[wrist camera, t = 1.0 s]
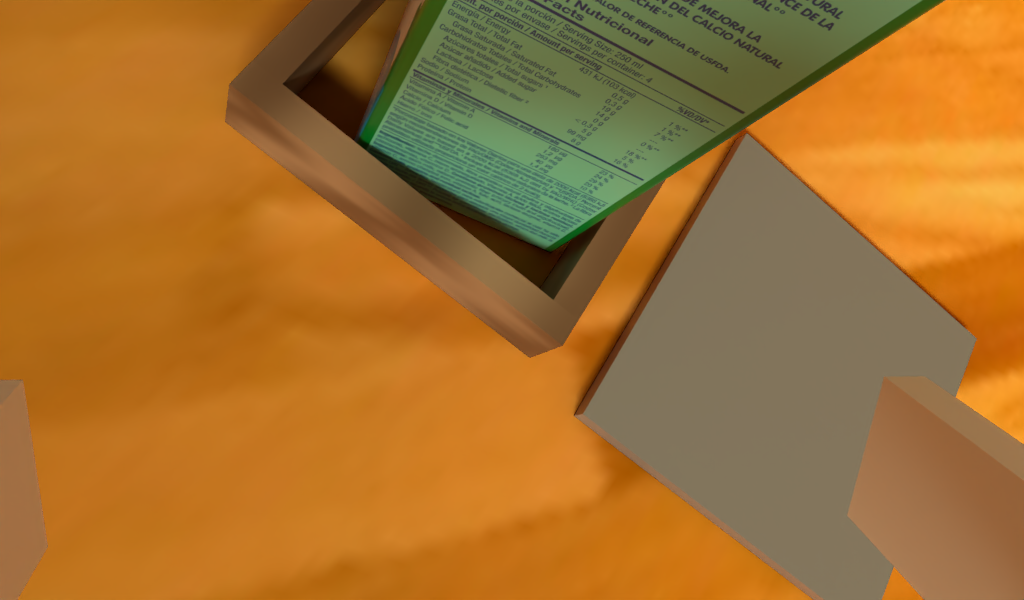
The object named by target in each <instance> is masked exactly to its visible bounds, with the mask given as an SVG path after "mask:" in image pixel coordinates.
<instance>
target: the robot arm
mask: <svg viewBox="0 0 1024 600" xmlns="http://www.w3.org/2000/svg"><path fill="white" fill-rule="evenodd" d="M847 516H848V517H849V518H850V519H851V520H852V521H853V522H854V524H855V525H856V526H857V527H858V528H859V529H860V530H861V531H862V532H863V533H864V534H865V536H866V537H867V538H868V539H869V540H870V541H871V542H872V543H873V544H874V545H875V546H876V548H877V549H878V550H879V551H880V552H881V553H882V554H883V555H884V556H885V557H886V558H887V560H888V561H889V562H890V563H891V564H892V565H893V566H894V567H895V568H896V569H897V570H898V572H899V573H900V574H901V575H902V576H903V577H904V578H905V579H906V580H907V581H908V582H909V584H910V585H911V586H912V587H913V588H914V589H915V590H916V591H917V592H918V593H919V594H920V596H921V597H922V598H923V599H924V600H1024V444H1022V443H1021V442H1019V441H1018V440H1016V439H1015V438H1014V437H1012V436H1011V435H1009V434H1008V433H1006V432H1005V431H1003V430H1002V429H1000V428H999V427H998V426H996V425H995V424H993V423H992V422H990V421H989V420H987V419H986V418H985V417H983V416H982V415H980V414H979V413H977V412H976V411H974V410H973V409H971V408H970V407H969V406H967V405H966V404H964V403H963V402H961V401H960V400H958V399H957V398H955V397H954V396H953V395H951V394H950V393H948V392H947V391H945V390H944V389H942V388H941V387H940V386H938V385H937V384H935V383H934V382H932V381H931V380H929V379H928V378H926V377H925V376H904V377H884V379H883V383H882V387H881V390H880V394H879V398H878V402H877V405H876V409H875V413H874V417H873V420H872V424H871V428H870V432H869V435H868V439H867V443H866V447H865V451H864V454H863V458H862V462H861V466H860V469H859V473H858V477H857V481H856V484H855V488H854V492H853V496H852V500H851V503H850V507H849V511H848V515H847ZM47 547H48V545H47V538H46V531H45V525H44V518H43V511H42V504H41V498H40V491H39V484H38V478H37V471H36V464H35V458H34V451H33V444H32V438H31V431H30V424H29V418H28V411H27V404H26V398H25V391H24V384H23V380H0V600H17V599H18V597H19V596H20V594H21V592H22V591H23V589H24V587H25V585H26V584H27V582H28V580H29V578H30V577H31V575H32V573H33V572H34V570H35V568H36V566H37V565H38V563H39V561H40V559H41V558H42V556H43V554H44V553H45V551H46V549H47Z"/></svg>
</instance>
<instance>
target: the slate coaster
mask: <svg viewBox="0 0 1024 600" xmlns="http://www.w3.org/2000/svg"><path fill="white" fill-rule="evenodd" d="M976 339H977V338H975V337H974V336H973V335H972V334H971V333H970V332H969V331H968V330H966V329H965V328H964V327H963V326H962V325H961V324H960V323H959V322H958V321H956V320H955V319H954V318H953V317H952V316H951V315H950V314H949V313H947V312H946V311H945V310H944V309H943V308H942V307H941V306H940V305H939V304H937V303H936V302H935V301H934V300H933V299H932V298H931V297H930V296H928V295H927V294H926V293H925V292H924V291H923V290H922V289H921V288H920V287H918V286H917V285H916V284H915V283H914V282H913V281H912V280H911V279H909V278H908V277H907V276H906V275H905V274H904V273H903V272H902V271H901V270H899V269H898V268H897V267H896V266H895V265H894V264H893V263H892V262H890V261H889V260H888V259H887V258H886V257H885V256H884V255H883V254H882V253H880V252H879V251H878V250H877V249H876V248H875V247H874V246H873V245H871V244H870V243H869V242H868V241H867V240H866V239H865V238H864V237H863V236H861V235H860V234H859V233H858V232H857V231H856V230H855V229H854V228H852V227H851V226H850V225H849V224H848V223H847V222H846V221H845V220H844V219H842V218H841V217H840V216H839V215H838V214H837V213H836V212H835V211H833V210H832V209H831V208H830V207H829V206H828V205H827V204H826V203H825V202H823V201H822V200H821V199H820V198H819V197H818V196H817V195H816V194H815V193H813V192H812V191H811V190H810V189H809V188H808V187H807V186H806V185H804V184H803V183H802V182H801V181H800V180H799V179H798V178H797V177H796V176H794V175H793V174H792V173H791V172H790V171H789V170H788V169H787V168H785V167H784V166H783V165H782V164H781V163H780V162H779V161H778V160H777V159H775V158H774V157H773V156H772V155H771V154H770V153H769V152H768V151H766V150H765V149H764V148H763V147H762V146H761V145H760V144H759V143H758V142H756V141H755V140H754V139H753V138H752V137H751V136H750V135H749V134H747V133H746V134H744V135H743V136H741V137H740V138H738V139H736V141H735V142H734V144H733V146H732V147H731V149H730V151H729V153H728V154H727V156H726V158H725V159H724V161H723V163H722V165H721V166H720V168H719V170H718V171H717V173H716V175H715V176H714V178H713V180H712V182H711V183H710V185H709V187H708V188H707V190H706V192H705V193H704V195H703V197H702V199H701V200H700V202H699V204H698V205H697V207H696V209H695V210H694V212H693V214H692V216H691V217H690V219H689V221H688V222H687V224H686V226H685V227H684V229H683V231H682V233H681V234H680V236H679V238H678V239H677V241H676V243H675V245H674V246H673V248H672V250H671V251H670V253H669V255H668V256H667V258H666V260H665V262H664V263H663V265H662V267H661V268H660V270H659V272H658V273H657V275H656V277H655V279H654V280H653V282H652V284H651V285H650V287H649V289H648V290H647V292H646V294H645V296H644V297H643V299H642V301H641V302H640V304H639V306H638V307H637V309H636V311H635V313H634V314H633V316H632V318H631V319H630V321H629V323H628V325H627V326H626V328H625V330H624V331H623V333H622V335H621V336H620V338H619V340H618V342H617V343H616V345H615V347H614V348H613V350H612V352H611V353H610V355H609V357H608V359H607V360H606V362H605V364H604V365H603V367H602V369H601V370H600V372H599V374H598V376H597V377H596V379H595V381H594V382H593V384H592V386H591V387H590V389H589V391H588V393H587V394H586V396H585V398H584V399H583V401H582V403H581V404H580V406H579V408H578V410H577V411H576V413H575V415H574V416H575V417H576V418H578V419H579V420H580V421H582V422H583V423H584V424H585V425H587V426H588V427H589V428H591V429H592V430H593V431H595V432H596V433H597V434H598V435H600V436H601V437H602V438H604V439H605V440H606V441H608V442H609V443H610V444H612V445H613V446H614V447H615V448H617V449H618V450H619V451H621V452H622V453H623V454H625V455H626V456H627V457H628V458H630V459H631V460H632V461H634V462H635V463H636V464H638V465H639V466H640V467H641V468H643V469H644V470H645V471H647V472H648V473H649V474H651V475H652V476H653V477H655V478H656V479H657V480H658V481H660V482H661V483H662V484H664V485H665V486H666V487H668V488H669V489H670V490H671V491H673V492H674V493H675V494H677V495H678V496H679V497H681V498H682V499H683V500H684V501H686V502H687V503H688V504H690V505H691V506H692V507H694V508H695V509H696V510H697V511H699V512H700V513H701V514H703V515H704V516H705V517H707V518H708V519H709V520H711V521H712V522H713V523H714V524H716V525H717V526H718V527H720V528H721V529H722V530H724V531H725V532H726V533H727V534H729V535H730V536H731V537H733V538H734V539H735V540H737V541H738V542H739V543H740V544H742V545H743V546H744V547H746V548H747V549H748V550H750V551H751V552H752V553H753V554H755V555H756V556H757V557H759V558H760V559H761V560H763V561H764V562H765V563H767V564H768V565H769V566H770V567H772V568H773V569H774V570H776V571H777V572H778V573H780V574H781V575H782V576H783V577H785V578H786V579H787V580H789V581H790V582H791V583H793V584H794V585H795V586H796V587H798V588H799V589H800V590H802V591H803V592H804V593H806V594H807V595H808V596H810V597H811V598H812V599H813V600H882V597H883V595H884V592H885V589H886V586H887V584H888V581H889V578H890V575H891V573H892V570H893V567H894V566H893V565H892V564H891V563H890V562H889V561H888V560H887V558H886V557H885V556H884V555H883V554H882V553H881V552H880V551H879V550H878V549H877V548H876V546H875V545H874V544H873V543H872V542H871V541H870V540H869V539H868V538H867V537H866V536H865V534H864V533H863V532H862V531H861V530H860V529H859V528H858V527H857V526H856V525H855V524H854V522H853V521H852V520H851V519H850V518H849V517H848V516H847V515H848V511H849V507H850V503H851V500H852V496H853V492H854V488H855V484H856V481H857V477H858V473H859V469H860V466H861V462H862V458H863V454H864V451H865V447H866V443H867V439H868V435H869V432H870V428H871V424H872V420H873V417H874V413H875V409H876V405H877V402H878V398H879V394H880V390H881V387H882V383H883V379H884V377H904V376H925V377H926V378H928V379H929V380H931V381H932V382H934V383H935V384H937V385H938V386H940V387H941V388H942V389H944V390H945V391H947V392H948V393H950V394H951V395H953V396H954V397H956V394H957V391H958V388H959V386H960V383H961V380H962V377H963V375H964V372H965V369H966V367H967V364H968V361H969V358H970V356H971V353H972V350H973V347H974V345H975V342H976Z"/></svg>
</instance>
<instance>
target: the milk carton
mask: <svg viewBox="0 0 1024 600" xmlns="http://www.w3.org/2000/svg"><path fill="white" fill-rule="evenodd" d="M943 1H945V0H409V2H408V4H407V7H406V9H405V12H404V14H403V17H402V19H401V22H400V24H399V27H398V30H397V32H396V35H395V37H394V40H393V42H392V45H391V47H390V50H389V52H388V55H387V57H386V60H385V63H384V65H383V68H382V70H381V73H380V75H379V78H378V80H377V83H376V85H375V88H374V90H373V93H372V96H371V98H370V101H369V103H368V106H367V108H366V111H365V113H364V116H363V118H362V121H361V123H360V126H359V129H358V131H357V134H356V136H355V139H354V141H355V142H356V143H357V144H358V145H360V146H361V147H362V148H363V149H365V150H366V151H367V152H368V153H370V154H371V155H372V156H373V157H375V158H376V159H377V160H378V161H380V162H381V163H382V164H383V165H385V166H386V167H387V168H388V169H390V170H391V171H392V172H393V173H395V174H396V175H397V176H398V177H400V178H401V179H402V180H403V181H405V182H406V183H407V184H408V185H410V186H411V187H412V188H414V189H415V190H416V191H417V192H419V193H420V194H421V195H422V196H424V197H425V198H426V199H429V200H431V201H433V202H435V203H438V204H440V205H442V206H445V207H447V208H449V209H452V210H454V211H456V212H459V213H461V214H463V215H465V216H468V217H470V218H472V219H475V220H477V221H479V222H482V223H484V224H486V225H489V226H491V227H493V228H495V229H498V230H500V231H502V232H505V233H507V234H509V235H512V236H514V237H516V238H519V239H521V240H523V241H525V242H528V243H530V244H532V245H535V246H537V247H539V248H542V249H544V250H546V251H549V252H552V251H554V250H555V249H557V248H559V247H560V246H562V245H563V244H565V243H566V242H568V241H570V240H571V239H573V238H574V237H576V236H577V235H579V234H581V233H582V232H584V231H585V230H587V229H588V228H590V227H591V226H593V225H595V224H596V223H598V222H599V221H601V220H602V219H604V218H606V217H607V216H609V215H610V214H612V213H613V212H615V211H616V210H618V209H620V208H621V207H623V206H624V205H626V204H627V203H629V202H631V201H632V200H634V199H635V198H637V197H638V196H640V195H641V194H643V193H645V192H646V191H648V190H649V189H651V188H652V187H654V186H656V185H657V184H659V183H660V182H662V181H663V180H665V179H667V178H668V177H670V176H671V175H673V174H674V173H676V172H677V171H679V170H681V169H682V168H684V167H685V166H687V165H688V164H690V163H692V162H693V161H695V160H696V159H698V158H699V157H701V156H702V155H704V154H706V153H707V152H709V151H710V150H712V149H713V148H715V147H717V146H718V145H720V144H721V143H723V142H724V141H726V140H728V139H729V138H731V137H732V136H734V135H735V134H737V133H738V132H740V131H742V130H743V129H745V128H746V127H748V126H749V125H751V124H753V123H754V122H756V121H757V120H759V119H760V118H762V117H763V116H765V115H767V114H768V113H770V112H771V111H773V110H774V109H776V108H778V107H779V106H781V105H782V104H784V103H785V102H787V101H788V100H790V99H792V98H793V97H795V96H796V95H798V94H799V93H801V92H803V91H804V90H806V89H807V88H809V87H810V86H812V85H814V84H815V83H817V82H818V81H820V80H821V79H823V78H824V77H826V76H828V75H829V74H831V73H832V72H834V71H835V70H837V69H839V68H840V67H842V66H843V65H845V64H846V63H848V62H849V61H851V60H853V59H854V58H856V57H857V56H859V55H860V54H862V53H864V52H865V51H867V50H868V49H870V48H871V47H873V46H875V45H876V44H878V43H879V42H881V41H882V40H884V39H885V38H887V37H889V36H890V35H892V34H893V33H895V32H896V31H898V30H900V29H901V28H903V27H904V26H906V25H907V24H909V23H910V22H912V21H914V20H915V19H917V18H918V17H920V16H921V15H923V14H925V13H926V12H928V11H929V10H931V9H932V8H934V7H935V6H937V5H939V4H940V3H942V2H943Z"/></svg>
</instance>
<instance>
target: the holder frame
mask: <svg viewBox="0 0 1024 600" xmlns="http://www.w3.org/2000/svg"><path fill="white" fill-rule="evenodd" d="M384 1H385V0H312V1H311V2H310V3H309V4H308V5H307V6H306V7H305V8H304V9H303V10H302V11H301V12H300V13H299V14H298V15H297V16H296V17H295V18H294V19H293V20H292V21H291V22H290V23H289V24H288V25H287V26H286V27H285V28H284V29H283V30H282V31H281V32H280V33H279V34H278V35H277V36H276V37H275V38H274V39H273V40H272V41H271V42H270V44H269V45H268V46H267V47H266V48H265V49H264V50H263V51H262V52H261V53H260V54H259V55H258V56H257V57H256V58H255V59H254V60H253V61H252V62H251V63H250V64H249V65H248V66H247V67H246V68H245V69H244V70H243V71H242V72H241V73H240V74H239V75H238V76H237V77H236V78H235V79H234V80H233V81H232V82H231V83H230V84H229V92H228V101H227V110H226V119H225V122H226V123H228V124H229V125H230V126H231V127H233V128H234V129H235V130H237V131H238V132H239V133H240V134H242V135H243V136H244V137H246V138H247V139H248V140H249V141H251V142H252V143H253V144H255V145H256V146H257V147H258V148H260V149H261V150H262V151H264V152H265V153H266V154H268V155H269V156H270V157H271V158H273V159H274V160H275V161H277V162H278V163H279V164H280V165H282V166H283V167H284V168H286V169H287V170H288V171H289V172H291V173H292V174H293V175H295V176H296V177H297V178H299V179H300V180H301V181H302V182H304V183H305V184H306V185H308V186H309V187H310V188H311V189H313V190H314V191H315V192H317V193H318V194H319V195H320V196H322V197H323V198H324V199H326V200H327V201H328V202H329V203H331V204H332V205H333V206H335V207H336V208H337V209H339V210H340V211H341V212H342V213H344V214H345V215H346V216H348V217H349V218H350V219H351V220H353V221H354V222H355V223H357V224H358V225H359V226H360V227H362V228H363V229H364V230H366V231H367V232H368V233H370V234H371V235H372V236H373V237H375V238H376V239H377V240H379V241H380V242H381V243H382V244H384V245H385V246H386V247H388V248H389V249H390V250H391V251H393V252H394V253H395V254H397V255H398V256H399V257H400V258H402V259H403V260H404V261H406V262H407V263H408V264H410V265H411V266H412V267H413V268H415V269H416V270H417V271H419V272H420V273H421V274H422V275H424V276H425V277H426V278H428V279H429V280H430V281H431V282H433V283H434V284H435V285H437V286H438V287H439V288H441V289H442V290H443V291H444V292H446V293H447V294H448V295H450V296H451V297H452V298H453V299H455V300H456V301H457V302H459V303H460V304H461V305H462V306H464V307H465V308H466V309H468V310H469V311H470V312H472V313H473V314H474V315H475V316H477V317H478V318H479V319H481V320H482V321H483V322H484V323H486V324H487V325H488V326H490V327H491V328H492V329H493V330H495V331H496V332H497V333H499V334H500V335H501V336H502V337H504V338H505V339H506V340H508V341H509V342H510V343H512V344H513V345H514V346H515V347H517V348H518V349H519V350H521V351H522V352H523V353H524V354H526V355H527V356H528V357H530V358H531V357H533V356H536V355H539V354H541V353H544V352H547V351H549V350H552V349H555V348H557V347H560V346H563V344H564V342H565V341H566V339H567V338H568V336H569V334H570V333H571V331H572V329H573V328H574V326H575V325H576V323H577V321H578V320H579V318H580V317H581V315H582V313H583V312H584V310H585V309H586V307H587V305H588V304H589V302H590V300H591V299H592V297H593V296H594V294H595V292H596V291H597V289H598V288H599V286H600V284H601V283H602V281H603V280H604V278H605V276H606V275H607V273H608V271H609V270H610V268H611V267H612V265H613V263H614V262H615V260H616V259H617V257H618V255H619V254H620V252H621V250H622V249H623V247H624V246H625V244H626V242H627V241H628V239H629V238H630V236H631V234H632V233H633V231H634V230H635V228H636V226H637V225H638V223H639V221H640V220H641V218H642V217H643V215H644V213H645V212H646V210H647V209H648V207H649V205H650V204H651V202H652V201H653V199H654V197H655V196H656V194H657V192H658V191H659V189H660V188H661V186H662V184H663V183H664V181H665V180H666V179H665V180H663V181H662V182H660V183H659V184H657V185H656V186H654V187H652V188H651V189H649V190H648V191H646V192H645V193H643V194H641V195H640V196H638V197H637V198H635V199H634V200H632V201H631V202H629V203H627V204H626V205H624V206H623V207H621V208H620V209H618V210H616V211H615V212H613V213H612V214H610V215H609V216H607V217H606V218H604V219H602V220H601V221H599V222H598V223H596V224H595V225H593V226H591V227H590V228H588V229H587V230H585V231H584V232H582V233H581V234H579V235H577V236H576V237H574V238H573V239H572V241H571V242H570V244H569V245H568V247H567V248H566V250H565V251H564V253H563V254H562V256H561V257H560V259H559V260H558V262H557V263H556V265H555V266H554V268H553V269H552V271H551V272H550V274H549V276H548V277H547V279H546V280H545V282H544V283H543V285H542V286H541V288H540V289H539V288H538V287H537V286H535V285H534V284H533V283H532V282H530V281H529V280H528V279H526V278H525V277H524V276H523V275H521V274H520V273H519V272H518V271H516V270H515V269H514V268H513V267H511V266H510V265H509V264H508V263H506V262H505V261H504V260H503V259H501V258H500V257H499V256H498V255H496V254H495V253H494V252H493V251H491V250H490V249H489V248H488V247H486V246H485V245H484V244H483V243H481V242H480V241H479V240H478V239H476V238H475V237H474V236H473V235H471V234H470V233H469V232H467V231H466V230H465V229H464V228H462V227H461V226H460V225H459V224H457V223H456V222H455V221H454V220H452V219H451V218H450V217H449V216H447V215H446V214H445V213H444V212H442V211H441V210H440V209H439V208H437V207H436V206H435V205H434V204H432V203H431V202H430V201H429V200H427V199H426V198H425V197H424V196H422V195H421V194H420V193H419V192H417V191H416V190H415V189H414V188H412V187H411V186H410V185H408V184H407V183H406V182H405V181H403V180H402V179H401V178H400V177H398V176H397V175H396V174H395V173H393V172H392V171H391V170H390V169H388V168H387V167H386V166H385V165H383V164H382V163H381V162H380V161H378V160H377V159H376V158H375V157H373V156H372V155H371V154H370V153H368V152H367V151H366V150H365V149H363V148H362V147H361V146H360V145H358V144H357V143H356V142H355V141H353V140H352V139H351V138H349V137H348V136H347V135H346V134H344V133H343V132H342V131H341V130H339V129H338V128H337V127H336V126H334V125H333V124H332V123H331V122H329V121H328V120H327V119H326V118H324V117H323V116H322V115H321V114H319V113H318V112H317V111H316V110H314V109H313V108H312V107H311V106H309V105H308V104H307V103H306V102H304V101H303V100H302V99H301V98H299V97H298V96H297V95H298V94H299V92H300V91H301V90H302V89H303V88H304V87H305V86H306V85H307V84H308V83H309V82H310V81H311V80H312V79H313V77H314V76H315V75H316V74H317V73H318V72H319V71H320V70H321V69H322V68H323V67H324V66H325V65H326V63H327V62H328V61H329V60H330V59H331V58H332V57H333V56H334V55H335V54H336V53H337V52H338V51H339V49H340V48H341V47H342V46H343V45H344V44H345V43H346V42H347V41H348V40H349V39H350V38H351V37H352V36H353V34H354V33H355V32H356V31H357V30H358V29H359V28H360V27H361V26H362V25H363V24H364V23H365V22H366V20H367V19H368V18H369V17H370V16H371V15H372V14H373V13H374V12H375V11H376V10H377V9H378V8H379V7H380V5H381V4H382V3H383V2H384Z"/></svg>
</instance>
